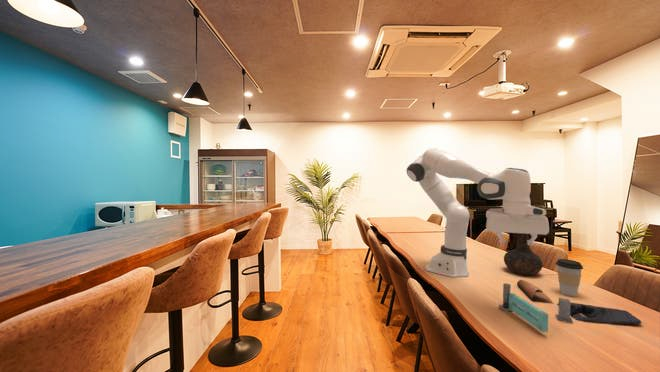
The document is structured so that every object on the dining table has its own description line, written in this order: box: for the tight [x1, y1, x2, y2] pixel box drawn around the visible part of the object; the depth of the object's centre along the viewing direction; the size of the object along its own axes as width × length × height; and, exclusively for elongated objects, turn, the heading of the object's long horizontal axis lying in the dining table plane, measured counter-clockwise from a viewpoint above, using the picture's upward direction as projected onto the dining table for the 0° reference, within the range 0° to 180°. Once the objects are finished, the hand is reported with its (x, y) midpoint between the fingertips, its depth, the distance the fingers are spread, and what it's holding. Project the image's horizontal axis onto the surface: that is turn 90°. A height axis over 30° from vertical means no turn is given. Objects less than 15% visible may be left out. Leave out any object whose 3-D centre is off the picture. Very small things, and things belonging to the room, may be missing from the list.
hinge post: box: [498, 282, 514, 313], centre depth 105 cm, size 5×5×10 cm
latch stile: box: [555, 297, 574, 324], centre depth 98 cm, size 4×4×8 cm
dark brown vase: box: [503, 233, 544, 276], centre depth 147 cm, size 18×18×28 cm
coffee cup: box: [555, 258, 584, 297], centre depth 120 cm, size 9×9×15 cm
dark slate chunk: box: [556, 302, 642, 326], centre depth 101 cm, size 15×22×5 cm
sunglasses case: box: [516, 279, 555, 305], centre depth 120 cm, size 18×7×7 cm, turn 163°
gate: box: [509, 292, 549, 333], centre depth 95 cm, size 16×2×6 cm, turn 1°
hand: (515, 244), depth 102 cm, fingers open, 8 cm apart
